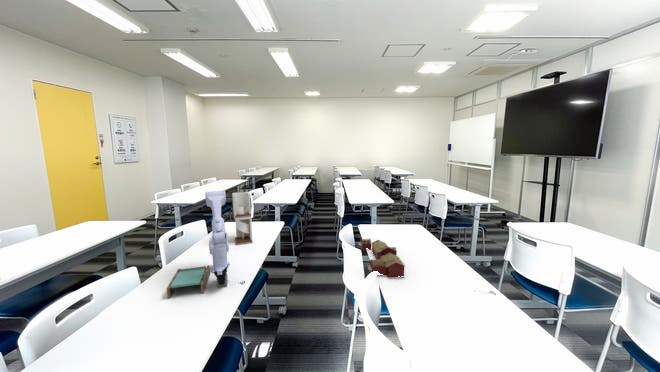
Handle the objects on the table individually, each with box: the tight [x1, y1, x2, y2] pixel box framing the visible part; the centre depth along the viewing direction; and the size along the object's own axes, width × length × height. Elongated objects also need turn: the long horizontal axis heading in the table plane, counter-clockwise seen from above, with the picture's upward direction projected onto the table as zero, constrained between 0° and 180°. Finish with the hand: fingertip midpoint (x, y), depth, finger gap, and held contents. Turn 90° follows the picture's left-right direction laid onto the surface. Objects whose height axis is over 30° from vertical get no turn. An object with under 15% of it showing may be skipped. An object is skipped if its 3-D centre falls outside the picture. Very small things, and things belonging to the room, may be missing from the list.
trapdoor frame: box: [166, 264, 211, 300], centre depth 128 cm, size 20×15×5 cm
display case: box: [231, 191, 253, 246], centre depth 185 cm, size 11×11×35 cm
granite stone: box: [216, 273, 229, 289], centre depth 128 cm, size 4×4×4 cm
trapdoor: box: [170, 265, 207, 289], centre depth 127 cm, size 18×12×3 cm
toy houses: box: [358, 238, 407, 278], centre depth 157 cm, size 45×20×10 cm, turn 4°
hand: (222, 281), depth 128 cm, fingers closed on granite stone, 4 cm apart
